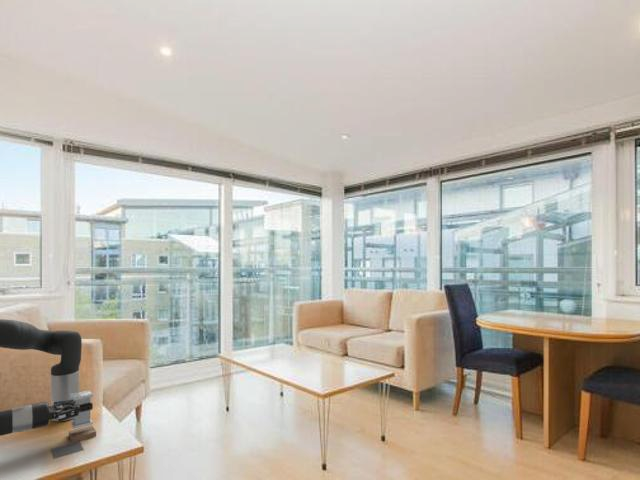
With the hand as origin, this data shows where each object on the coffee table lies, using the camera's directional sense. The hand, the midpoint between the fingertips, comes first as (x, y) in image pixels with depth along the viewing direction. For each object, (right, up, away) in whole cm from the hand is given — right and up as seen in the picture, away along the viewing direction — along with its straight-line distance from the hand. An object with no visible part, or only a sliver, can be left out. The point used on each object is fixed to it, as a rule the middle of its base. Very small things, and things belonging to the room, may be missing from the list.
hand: (90, 403), depth 139 cm
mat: (-1, -11, -12) cm, 16 cm away
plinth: (-2, -11, -2) cm, 11 cm away
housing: (-2, -6, -2) cm, 7 cm away
